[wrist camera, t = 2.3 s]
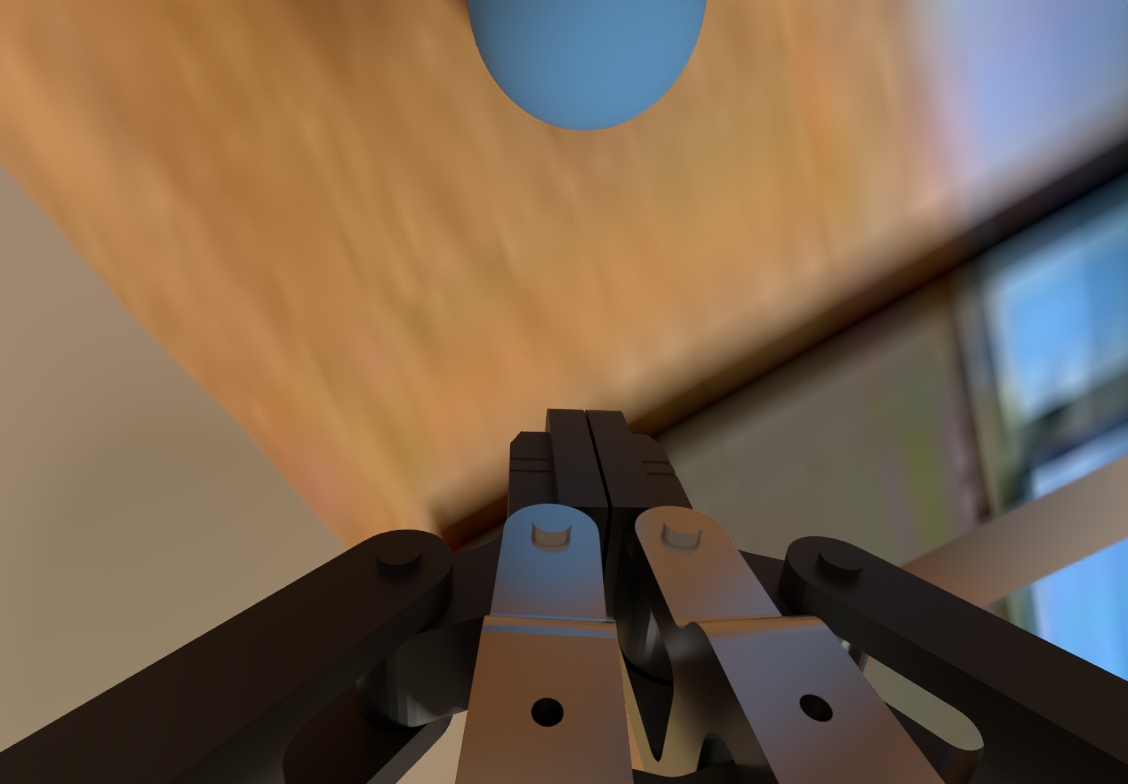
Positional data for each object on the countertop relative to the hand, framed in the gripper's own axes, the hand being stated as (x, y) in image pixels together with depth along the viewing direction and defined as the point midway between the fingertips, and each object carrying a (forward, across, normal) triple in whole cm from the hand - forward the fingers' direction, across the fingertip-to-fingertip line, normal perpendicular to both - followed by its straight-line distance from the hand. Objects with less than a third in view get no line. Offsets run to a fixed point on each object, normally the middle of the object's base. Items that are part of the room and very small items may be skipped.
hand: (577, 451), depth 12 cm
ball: (+7, 0, -9) cm, 12 cm away
